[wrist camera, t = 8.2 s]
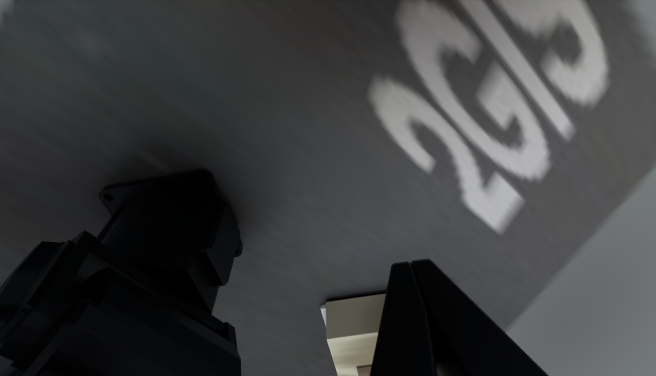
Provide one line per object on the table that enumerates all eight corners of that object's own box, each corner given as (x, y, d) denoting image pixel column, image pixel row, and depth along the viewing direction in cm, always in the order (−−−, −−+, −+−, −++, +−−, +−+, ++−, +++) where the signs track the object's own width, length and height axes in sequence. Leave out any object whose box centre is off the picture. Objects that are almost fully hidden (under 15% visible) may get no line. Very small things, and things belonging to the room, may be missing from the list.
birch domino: (325, 302, 27) (344, 366, 32) (326, 341, 24) (346, 404, 29) (448, 284, 26) (447, 353, 31) (463, 322, 23) (459, 391, 29)
